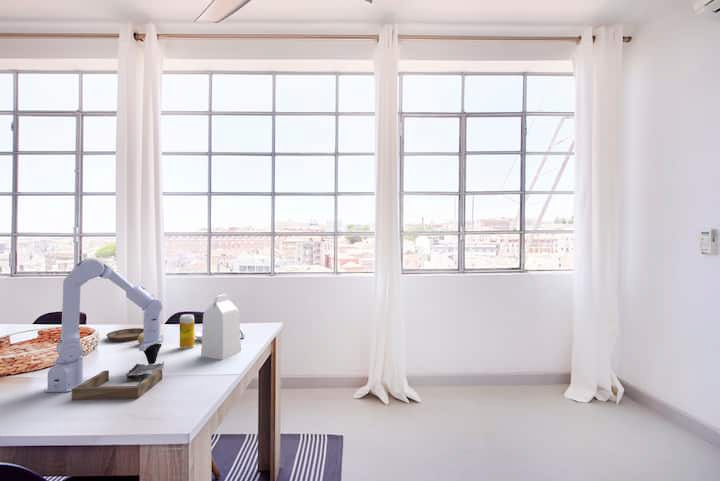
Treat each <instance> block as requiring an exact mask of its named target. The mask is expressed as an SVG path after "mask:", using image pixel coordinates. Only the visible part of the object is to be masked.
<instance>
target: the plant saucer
mask: <svg viewBox="0 0 720 481" xmlns="http://www.w3.org/2000/svg"><path fill="white" fill-rule="evenodd" d="M143 330H144V328H141V327H139V328H137V327H136V328H134V327H133V328H124V329H123V328H122V329H118V330H114V331H111V332H110V331H109V332H108V333H106V337H107V339H108V340H110V341H111V342H114V343H115V342H117V343H119V342H120V343H121V342H123V343H124V342H131V341H136V340H138V336H139V335H140V334H141V333H142V332H143Z"/></svg>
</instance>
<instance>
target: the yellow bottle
mask: <svg viewBox="0 0 720 481" xmlns="http://www.w3.org/2000/svg"><path fill="white" fill-rule="evenodd" d="M194 346H195V316H194V314H192V313H191V314H190V313H188V314H186V313H185V314H182V315H180V317H179V347H180V349H181V350H187V349H188V350H189V349H192V348H194Z"/></svg>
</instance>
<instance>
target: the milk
mask: <svg viewBox="0 0 720 481" xmlns="http://www.w3.org/2000/svg"><path fill="white" fill-rule="evenodd" d="M228 294H229V293H228ZM228 294H227V293H223V294H220V295H216V296H215V298H214V300H213V303H212V304H210V306H209V307H208V308H207V309H206V310H205V311H204V312H203V314H202V341H201V350H200V351H201V352H200V357H202V358H210V359H216V360H217V359H218V360H222V361H223V360H225V359H227V358H229V357H231V356H235V355H236V354H239V353H240V352H242V342H241V339H242V338H241V333H240V327H241V325H240V323H241V322H240V311H239V309H238V308H237V306H235V304H234V303H233V302H232V301H231V300H230V298H229V295H228Z"/></svg>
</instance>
